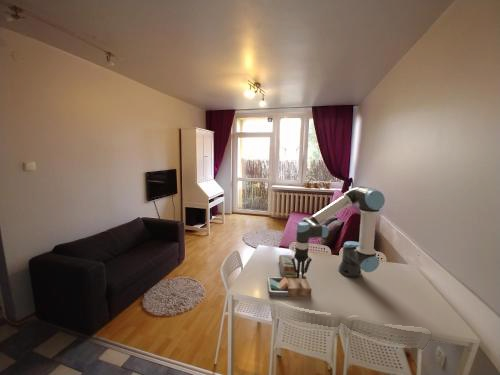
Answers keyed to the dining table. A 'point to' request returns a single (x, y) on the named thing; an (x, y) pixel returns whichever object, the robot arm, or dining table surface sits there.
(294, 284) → the brown wooden tray
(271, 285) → the tile
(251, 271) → the dining table surface
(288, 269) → the toy car
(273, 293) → the box
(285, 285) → the tile
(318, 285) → the dining table surface
